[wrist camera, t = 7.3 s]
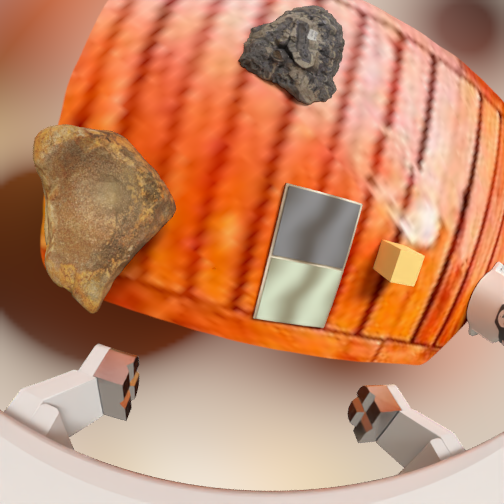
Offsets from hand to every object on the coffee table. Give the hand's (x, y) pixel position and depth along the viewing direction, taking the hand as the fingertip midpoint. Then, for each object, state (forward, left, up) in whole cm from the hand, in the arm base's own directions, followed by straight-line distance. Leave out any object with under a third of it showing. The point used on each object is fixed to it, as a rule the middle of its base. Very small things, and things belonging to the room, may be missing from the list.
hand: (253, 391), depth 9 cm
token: (-25, 0, -32) cm, 41 cm away
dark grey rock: (-2, -28, -33) cm, 43 cm away
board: (-11, +4, -32) cm, 34 cm away
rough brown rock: (+17, 0, -32) cm, 36 cm away
